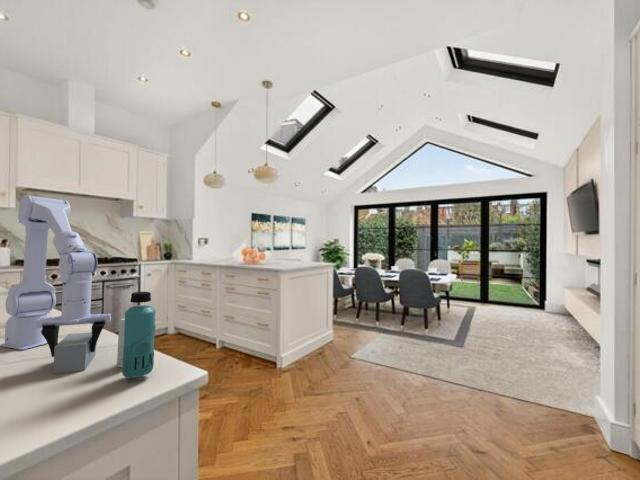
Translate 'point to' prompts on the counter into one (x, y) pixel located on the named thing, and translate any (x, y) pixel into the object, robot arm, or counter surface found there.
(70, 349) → the tall gray prism
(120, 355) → the skincare box
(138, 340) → the beverage bottle
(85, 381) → the counter surface
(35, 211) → the robot arm
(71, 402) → the counter surface
